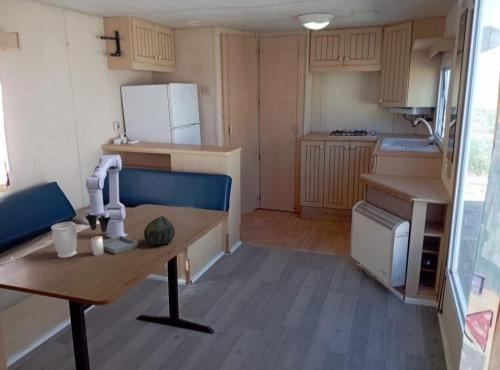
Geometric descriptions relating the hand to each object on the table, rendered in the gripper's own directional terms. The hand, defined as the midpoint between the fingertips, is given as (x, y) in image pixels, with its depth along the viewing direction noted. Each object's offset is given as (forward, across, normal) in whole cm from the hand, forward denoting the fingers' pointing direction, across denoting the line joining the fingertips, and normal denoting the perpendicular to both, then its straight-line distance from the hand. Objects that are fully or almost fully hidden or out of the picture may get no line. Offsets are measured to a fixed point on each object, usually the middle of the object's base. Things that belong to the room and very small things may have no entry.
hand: (99, 230), depth 188 cm
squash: (+11, +14, +26) cm, 31 cm away
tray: (+11, -1, +11) cm, 16 cm away
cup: (+12, -3, 0) cm, 12 cm away
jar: (+12, -15, -8) cm, 21 cm away
